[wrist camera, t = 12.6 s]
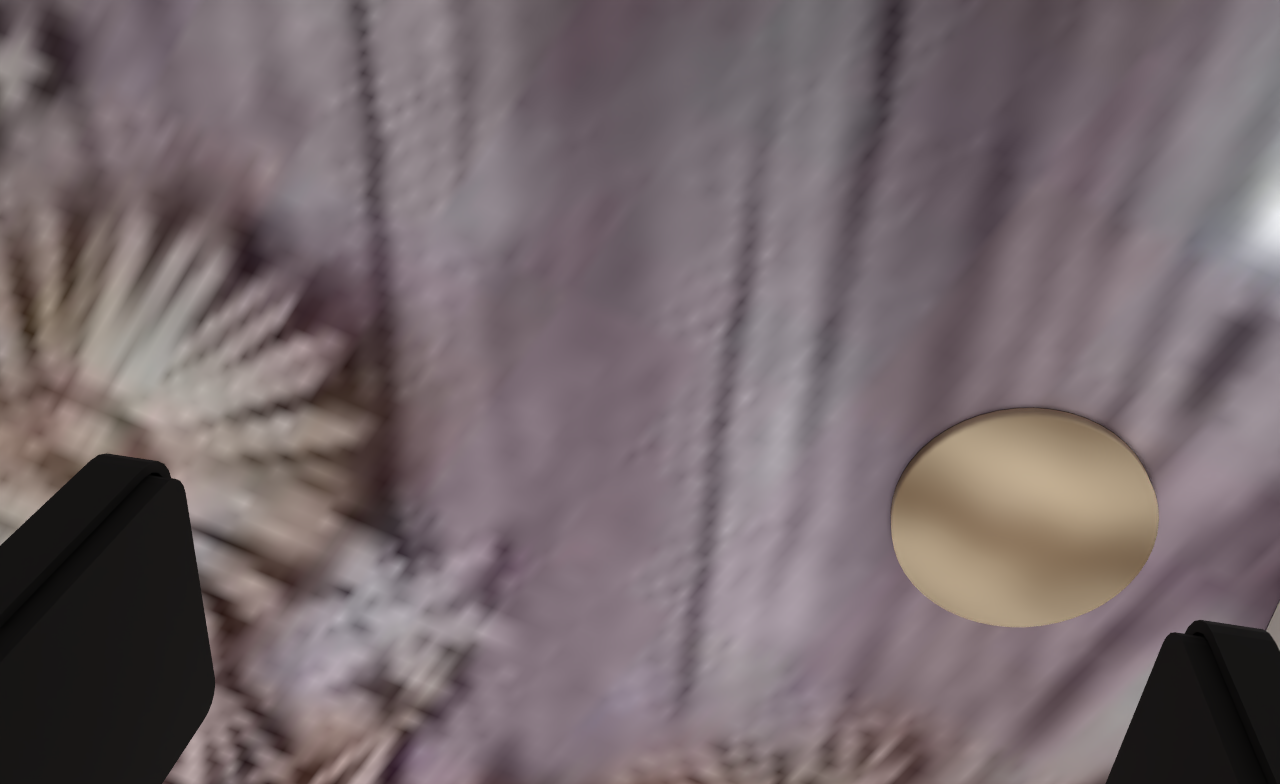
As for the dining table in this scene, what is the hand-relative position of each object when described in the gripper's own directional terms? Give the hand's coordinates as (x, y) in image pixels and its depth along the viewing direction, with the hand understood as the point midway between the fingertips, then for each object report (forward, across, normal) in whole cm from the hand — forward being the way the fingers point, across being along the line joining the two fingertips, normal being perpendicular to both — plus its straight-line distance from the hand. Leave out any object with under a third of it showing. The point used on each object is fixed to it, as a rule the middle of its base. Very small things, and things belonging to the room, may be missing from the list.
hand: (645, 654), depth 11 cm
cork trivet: (+30, -12, +18) cm, 37 cm away
